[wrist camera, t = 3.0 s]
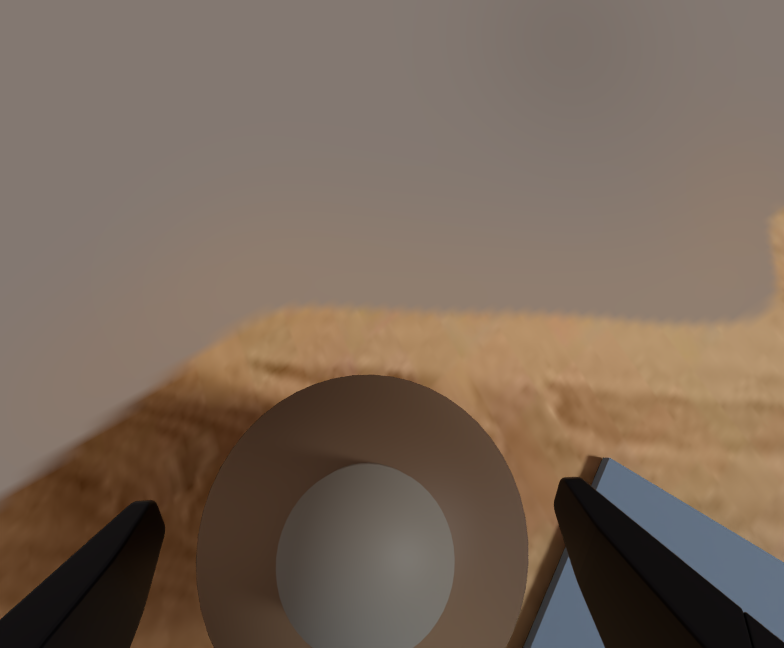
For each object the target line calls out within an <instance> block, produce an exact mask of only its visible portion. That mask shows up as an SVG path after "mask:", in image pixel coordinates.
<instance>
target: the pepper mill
mask: <svg viewBox="0 0 784 648" xmlns="http://www.w3.org/2000/svg"><path fill="white" fill-rule="evenodd" d="M527 572H528V535H527V527H526V519H525V514H524V510H523V506H522V502H521V498H520V494H519V491H518V489H517V486H516V483H515V481H514V478H513V475H512V473H511V471H510V469H509V467H508V465H507V463H506V461H505V459H504V457H503V455H502V454H501V452H500V451H499V449H498V448H497V446H496V445H495V443H494V442H493V440H492V439H491V438H490V436H489V435H488V434H487V433H486V432H485V431H484V429H483V428H482V427H481V426H480V425H479V424H478V422H477V421H475V420H474V419H473V418H472V417H471V416H470V415H469V414H468V413H467V412H466V411H464V410H463V409H462V408H461V407H459V406H458V405H457V404H455V403H454V402H452V401H451V400H450V399H448V398H447V397H445V396H443V395H441V394H439V393H437V392H436V391H434V390H432V389H430V388H428V387H425V386H422V385H420V384H417V383H414V382H412V381H408V380H404V379H399V378H395V377H390V376H380V375H352V376H346V377H340V378H334V379H330V380H327V381H324V382H320V383H317V384H314V385H312V386H309V387H307V388H305V389H303V390H300V391H298V392H296V393H294V394H293V395H291V396H289V397H287V398H286V399H284V400H282V401H281V402H279V403H278V404H276V405H275V406H274V407H273V408H271V409H270V410H269V411H267V412H266V413H265V414H264V415H262V416H261V417H260V418H259V419H258V420H257V421H256V422H255V423H254V424H253V425H252V426H251V427H250V428H249V429H248V430H247V431H246V432H245V433H244V435H243V436H242V437H241V438H240V440H239V441H238V442H237V444H236V445H235V446H234V447H233V449H232V450H231V452H230V453H229V455H228V457H227V458H226V460H225V461H224V463H223V465H222V466H221V468H220V470H219V472H218V474H217V477H216V479H215V481H214V483H213V485H212V487H211V489H210V492H209V495H208V498H207V501H206V504H205V507H204V510H203V515H202V519H201V524H200V529H199V534H198V543H197V555H196V573H197V589H198V595H199V601H200V607H201V612H202V615H203V619H204V622H205V625H206V629H207V632H208V635H209V637H210V640H211V642H212V644H213V646H214V648H506V646H507V644H508V642H509V640H510V638H511V636H512V633H513V631H514V628H515V625H516V622H517V620H518V617H519V614H520V611H521V606H522V602H523V598H524V593H525V589H526V581H527Z"/></svg>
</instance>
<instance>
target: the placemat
mask: <svg viewBox="0 0 784 648" xmlns="http://www.w3.org/2000/svg"><path fill="white" fill-rule="evenodd" d="M591 486H592V487H593V488H594V489H595V490H597V491H598V492H599V493H600V494H602V495H603V496H604V497H605V498H607V499H608V500H609V501H610V502H611V503H613V504H614V505H615V506H616V507H618V508H619V509H620V510H621V511H623V512H624V513H625V514H626V515H627V516H629V517H630V518H631V519H632V520H634V521H635V522H636V523H637V524H639V525H640V526H641V527H642V528H643V529H645V530H646V531H647V532H648V533H650V534H651V535H652V536H653V537H655V538H656V539H657V540H658V541H659V542H661V543H662V544H663V545H664V546H666V547H667V548H668V549H669V550H671V551H672V552H673V553H674V554H675V555H677V556H678V557H679V558H680V559H682V560H683V561H684V562H685V563H687V564H688V565H689V566H690V567H691V568H693V569H694V570H695V571H696V572H698V573H699V574H700V575H701V576H703V577H704V578H705V579H706V580H707V581H709V582H710V583H711V584H712V585H714V586H715V587H716V588H717V589H719V590H720V591H721V592H722V593H723V594H725V595H726V596H727V597H728V598H730V599H731V600H732V601H733V602H735V603H736V604H737V605H738V606H739V607H741V608H742V610H743V612H747V613H748V614H749V615H751V616H752V617H753V618H754V619H756V620H757V621H758V622H759V623H761V624H762V625H763V626H764V627H765V628H767V629H768V630H769V631H770V632H772V633H773V634H774V635H776V636H777V637H778V638H779V639H781V640H782V641H783V642H784V562H782V561H780V560H779V559H777V558H775V557H774V556H772V555H770V554H769V553H767V552H765V551H764V550H762V549H760V548H759V547H757V546H755V545H754V544H752V543H750V542H749V541H747V540H745V539H744V538H742V537H740V536H739V535H737V534H735V533H734V532H732V531H730V530H729V529H727V528H725V527H724V526H722V525H720V524H719V523H717V522H715V521H714V520H712V519H711V518H709V517H707V516H706V515H704V514H702V513H701V512H699V511H697V510H696V509H694V508H692V507H691V506H689V505H687V504H686V503H684V502H682V501H681V500H679V499H677V498H676V497H674V496H672V495H671V494H669V493H667V492H666V491H664V490H662V489H661V488H659V487H657V486H656V485H654V484H652V483H651V482H649V481H647V480H646V479H644V478H642V477H641V476H639V475H637V474H636V473H634V472H632V471H631V470H629V469H627V468H626V467H624V466H622V465H621V464H619V463H617V462H616V461H614V460H612V459H611V458H603V459H602V461H601V464H600V466H599V468H598V471H597V473H596V476H595V478H594V480H593V483H592V485H591ZM523 648H605V647H604V645H603V642H602V640H601V637H600V635H599V633H598V630H597V628H596V626H595V623H594V621H593V619H592V616H591V614H590V612H589V609H588V607H587V604H586V602H585V600H584V597H583V595H582V593H581V590H580V588H579V585H578V583H577V580H576V577H575V574H574V571H573V568H572V565H571V562H570V559H569V555H568V552H567V549H566V547H565V549H564V552H563V554H562V556H561V559H560V561H559V564H558V566H557V568H556V571H555V573H554V575H553V578H552V580H551V583H550V585H549V587H548V590H547V592H546V594H545V597H544V599H543V602H542V604H541V606H540V609H539V611H538V613H537V616H536V618H535V621H534V623H533V625H532V628H531V630H530V633H529V635H528V637H527V640H526V642H525V644H524V647H523Z"/></svg>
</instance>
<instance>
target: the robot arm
mask: <svg viewBox="0 0 784 648" xmlns="http://www.w3.org/2000/svg"><path fill="white" fill-rule="evenodd" d="M554 510H555V514H556V517H557V520H558V523H559V527H560V530H561V533H562V536H563V539H564V543H565V546H566V549H567V552H568V555H569V559H570V562H571V565H572V568H573V571H574V574H575V577H576V580H577V583H578V585H579V588H580V590H581V593H582V595H583V597H584V600H585V602H586V604H587V607H588V609H589V612H590V614H591V616H592V619H593V621H594V623H595V626H596V628H597V630H598V633H599V635H600V637H601V640H602V642H603V645H604V647H605V648H784V642H783V641H782V640H781V639H779V638H778V637H777V636H776V635H774V634H773V633H772V632H770V631H769V630H768V629H767V628H765V627H764V626H763V625H762V624H761V623H759V622H758V621H757V620H756V619H754V618H753V617H752V616H751V615H749V614H748V613H747V612H743V610H742V608H741V607H739V606H738V605H737V604H736V603H735V602H733V601H732V600H731V599H730V598H728V597H727V596H726V595H725V594H723V593H722V592H721V591H720V590H719V589H717V588H716V587H715V586H714V585H712V584H711V583H710V582H709V581H707V580H706V579H705V578H704V577H703V576H701V575H700V574H699V573H698V572H696V571H695V570H694V569H693V568H691V567H690V566H689V565H688V564H687V563H685V562H684V561H683V560H682V559H680V558H679V557H678V556H677V555H675V554H674V553H673V552H672V551H671V550H669V549H668V548H667V547H666V546H664V545H663V544H662V543H661V542H659V541H658V540H657V539H656V538H655V537H653V536H652V535H651V534H650V533H648V532H647V531H646V530H645V529H643V528H642V527H641V526H640V525H639V524H637V523H636V522H635V521H634V520H632V519H631V518H630V517H629V516H627V515H626V514H625V513H624V512H623V511H621V510H620V509H619V508H618V507H616V506H615V505H614V504H613V503H611V502H610V501H609V500H608V499H607V498H605V497H604V496H603V495H602V494H600V493H599V492H598V491H597V490H595V489H594V488H593V487H592V486H591V485H589V484H588V483H587V482H586V481H584V480H583V479H582V478H580V477H564V478H562V479H561V480H560V482H559V486H558V489H557V493H556V496H555V500H554ZM164 534H165V525H164V521H163V519H162V516H161V514H160V511H159V508H158V506H157V503H156V502H155V501H153V500H146V501H135V502H133V503H131V504H130V505H129V506H128V507H126V508H125V509H124V510H123V511H122V512H121V513H120V514H119V515H117V516H116V517H115V518H114V519H113V520H112V521H111V522H110V523H108V524H107V525H106V526H105V527H104V528H103V529H102V530H101V531H99V532H98V533H97V534H96V535H95V536H94V537H93V538H92V539H90V540H89V541H88V542H87V543H86V544H85V545H84V546H83V547H81V548H80V549H79V550H78V551H77V552H76V553H75V554H74V555H72V556H71V557H70V558H69V559H68V560H67V561H66V562H64V563H63V564H62V565H61V566H60V567H59V568H58V569H57V570H55V571H54V572H53V573H52V574H51V575H50V576H49V577H48V578H46V579H45V580H44V581H43V582H42V583H41V584H40V585H39V586H37V587H36V588H35V589H34V590H33V591H32V592H31V593H30V594H28V595H27V596H26V597H25V598H24V599H23V600H22V601H21V602H19V603H18V604H17V605H16V606H15V607H14V608H13V609H12V610H10V611H9V612H8V613H7V614H6V615H5V616H4V617H3V618H1V619H0V648H130V646H131V644H132V641H133V638H134V636H135V633H136V630H137V628H138V625H139V622H140V619H141V617H142V614H143V611H144V607H145V604H146V601H147V597H148V594H149V590H150V586H151V583H152V579H153V575H154V572H155V568H156V564H157V561H158V557H159V553H160V550H161V546H162V542H163V539H164Z"/></svg>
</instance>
